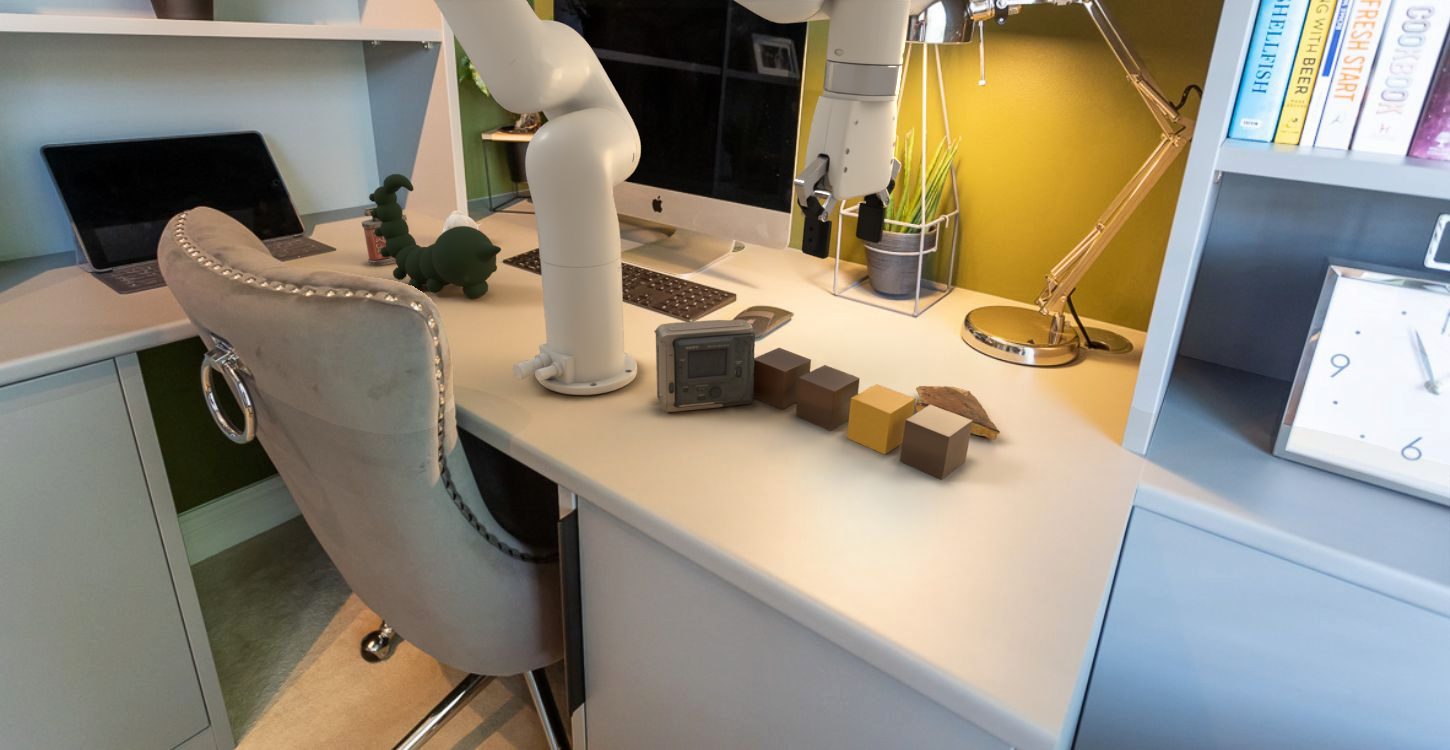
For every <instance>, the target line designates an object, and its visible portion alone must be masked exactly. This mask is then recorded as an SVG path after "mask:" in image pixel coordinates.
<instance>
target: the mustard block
mask: <svg viewBox="0 0 1450 750" xmlns="http://www.w3.org/2000/svg"><path fill="white" fill-rule="evenodd" d="M915 404H916V398H915V397H912V396H910V395H907V394H905V393H902V392H898V391H897V390H893V389H891V388H888V387H886V386H884V385H881V384H877V383H876V384H874V385H872V386H870V387H868V388H867V389H865V390H863V391H861V392H860V393H859V392H858V395H856V396H854V397H852V398H851V403H850V413H849V420H848V421H847V422H848V424H847V435H846V439H848V440H851V441H853V442H855V443H858V444H860V445H862V446H864V447H866V448H869V449H871V450H873V451H876V452H878V453H880V454H883V455H887V454H888V453H890V452H892V451H893V450H894V449H896V448H897V447H899V446H901V445H902V442H903V434H904V427H905V420H906V419H908V418H909V417H911V416H913V415H914V412H915V410H914V409H915V406H916V405H915Z"/></svg>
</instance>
